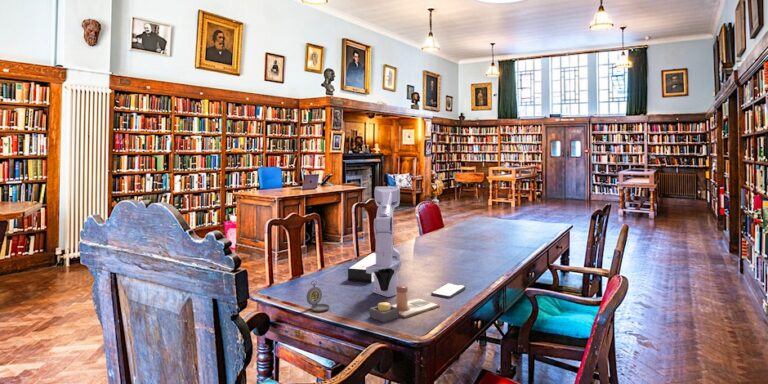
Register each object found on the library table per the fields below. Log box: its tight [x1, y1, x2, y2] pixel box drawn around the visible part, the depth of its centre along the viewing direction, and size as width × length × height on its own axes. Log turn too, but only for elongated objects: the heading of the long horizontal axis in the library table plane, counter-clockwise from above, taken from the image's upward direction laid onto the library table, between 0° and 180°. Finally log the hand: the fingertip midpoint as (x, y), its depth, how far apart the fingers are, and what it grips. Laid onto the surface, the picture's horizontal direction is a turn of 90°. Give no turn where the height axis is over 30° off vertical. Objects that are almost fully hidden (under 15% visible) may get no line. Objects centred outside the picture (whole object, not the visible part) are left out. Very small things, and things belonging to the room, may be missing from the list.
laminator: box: [347, 252, 394, 284], centre depth 215 cm, size 34×12×6 cm, turn 163°
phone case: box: [430, 282, 467, 299], centre depth 184 cm, size 9×2×16 cm
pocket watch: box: [305, 280, 330, 312], centre depth 164 cm, size 8×8×10 cm
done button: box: [377, 301, 391, 312], centre depth 155 cm, size 4×4×3 cm
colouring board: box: [391, 297, 440, 319], centre depth 164 cm, size 12×18×1 cm, turn 131°
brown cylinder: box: [395, 284, 409, 311], centre depth 161 cm, size 4×4×8 cm
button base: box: [369, 305, 400, 323], centre depth 155 cm, size 7×7×3 cm
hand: (384, 290), depth 155 cm, fingers closed
